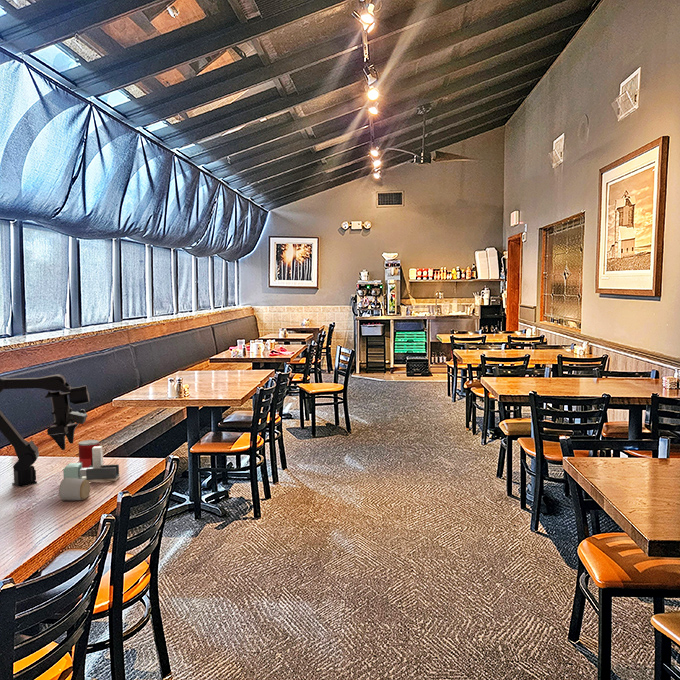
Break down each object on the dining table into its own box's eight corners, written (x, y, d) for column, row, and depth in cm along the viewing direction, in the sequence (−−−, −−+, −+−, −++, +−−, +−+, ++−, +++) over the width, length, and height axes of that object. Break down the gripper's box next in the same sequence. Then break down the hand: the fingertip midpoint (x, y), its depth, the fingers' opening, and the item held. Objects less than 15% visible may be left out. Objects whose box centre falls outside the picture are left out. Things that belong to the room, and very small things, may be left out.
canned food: (95, 470, 236) (94, 444, 235) (75, 470, 236) (74, 444, 235) (103, 465, 243) (102, 439, 243) (84, 465, 244) (83, 439, 243)
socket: (82, 476, 224) (81, 462, 224) (77, 480, 219) (77, 466, 219) (67, 477, 224) (67, 463, 223) (63, 481, 218) (62, 467, 218)
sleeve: (119, 474, 226) (118, 464, 226) (116, 478, 221) (115, 467, 221) (90, 476, 224) (89, 465, 224) (86, 480, 220) (86, 469, 219)
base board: (119, 476, 227) (119, 474, 227) (115, 481, 221) (115, 479, 221) (67, 479, 224) (67, 477, 224) (62, 484, 218) (62, 481, 218)
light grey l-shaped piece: (103, 473, 224) (102, 445, 223) (101, 475, 221) (100, 447, 221) (70, 474, 223) (69, 447, 222) (68, 477, 220) (67, 449, 219)
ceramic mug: (82, 503, 197) (81, 481, 197) (58, 503, 197) (57, 481, 197) (95, 493, 208) (95, 472, 207) (73, 493, 208) (72, 472, 208)
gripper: (74, 409, 213) (81, 450, 215) (90, 399, 232) (96, 437, 233) (43, 413, 212) (50, 454, 214) (61, 403, 230) (67, 441, 232)
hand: (67, 446), depth 223 cm, fingers open, 9 cm apart
